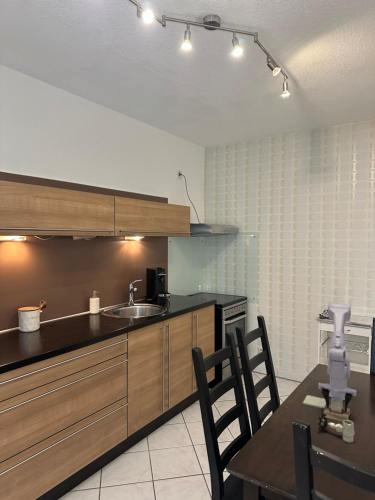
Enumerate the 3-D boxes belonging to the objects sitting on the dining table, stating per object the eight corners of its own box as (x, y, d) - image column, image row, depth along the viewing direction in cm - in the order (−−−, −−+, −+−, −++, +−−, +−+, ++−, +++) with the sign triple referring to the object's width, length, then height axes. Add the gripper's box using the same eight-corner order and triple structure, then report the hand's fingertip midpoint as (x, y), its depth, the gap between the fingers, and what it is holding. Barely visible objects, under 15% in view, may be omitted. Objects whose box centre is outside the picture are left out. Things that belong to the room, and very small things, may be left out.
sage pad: (307, 396, 164) (307, 395, 164) (327, 400, 159) (327, 399, 159) (302, 403, 156) (302, 402, 156) (324, 408, 151) (324, 407, 151)
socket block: (327, 408, 152) (327, 403, 152) (349, 413, 147) (349, 408, 147) (323, 416, 144) (323, 412, 144) (347, 422, 139) (347, 417, 139)
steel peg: (332, 412, 148) (332, 395, 148) (342, 414, 146) (342, 397, 146) (330, 416, 145) (331, 399, 145) (341, 418, 143) (341, 401, 143)
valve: (357, 438, 128) (324, 426, 136) (357, 421, 128) (325, 410, 136) (350, 446, 123) (317, 433, 132) (350, 427, 123) (317, 415, 132)
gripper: (317, 376, 146) (316, 408, 146) (355, 383, 138) (354, 417, 138) (320, 371, 152) (319, 402, 152) (357, 377, 144) (356, 410, 144)
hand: (336, 409), depth 146 cm, fingers open, 6 cm apart
